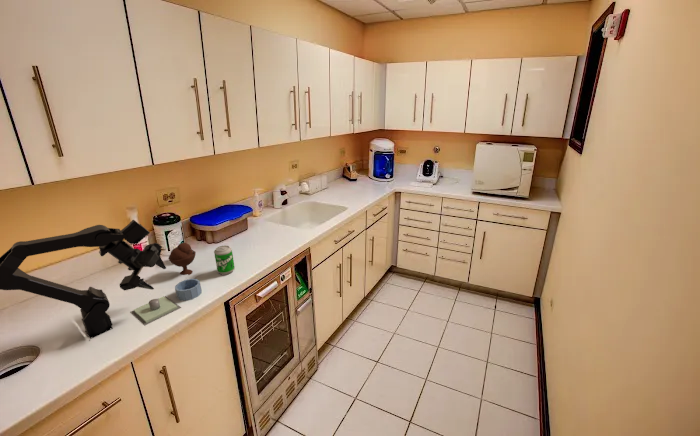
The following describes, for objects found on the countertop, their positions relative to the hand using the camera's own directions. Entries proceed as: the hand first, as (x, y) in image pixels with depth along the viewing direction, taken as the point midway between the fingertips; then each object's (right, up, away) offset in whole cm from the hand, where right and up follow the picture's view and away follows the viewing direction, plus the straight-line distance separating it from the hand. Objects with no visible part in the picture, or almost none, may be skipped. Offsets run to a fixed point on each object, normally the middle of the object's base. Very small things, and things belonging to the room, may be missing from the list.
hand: (159, 278), depth 121 cm
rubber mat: (-2, -12, +1) cm, 13 cm away
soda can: (+14, -2, +28) cm, 32 cm away
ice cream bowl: (-4, -3, +27) cm, 28 cm away
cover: (-2, -12, +1) cm, 12 cm away
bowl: (+6, -9, +10) cm, 15 cm away
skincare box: (-11, +1, +40) cm, 41 cm away
